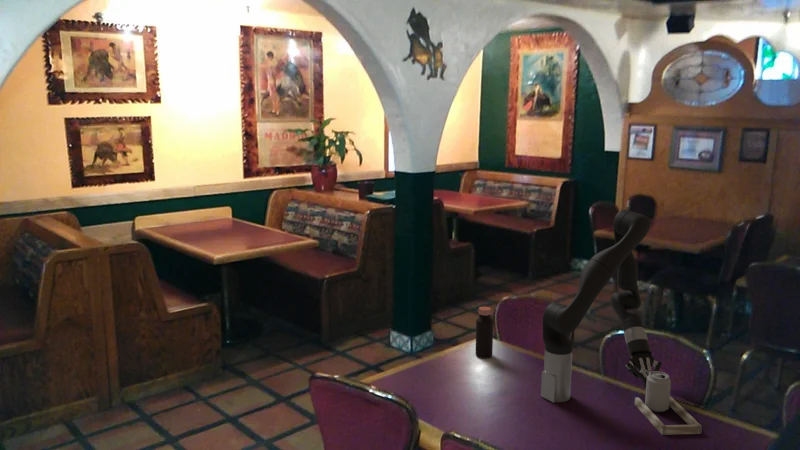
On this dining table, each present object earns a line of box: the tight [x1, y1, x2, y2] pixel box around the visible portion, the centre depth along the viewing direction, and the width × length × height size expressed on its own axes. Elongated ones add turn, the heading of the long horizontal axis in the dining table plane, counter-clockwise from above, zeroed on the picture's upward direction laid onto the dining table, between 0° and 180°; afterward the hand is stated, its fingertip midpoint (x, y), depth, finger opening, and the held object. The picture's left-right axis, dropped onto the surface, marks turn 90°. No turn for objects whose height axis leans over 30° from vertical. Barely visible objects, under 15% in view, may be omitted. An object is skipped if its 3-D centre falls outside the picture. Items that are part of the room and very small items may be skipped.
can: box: [644, 370, 672, 413], centre depth 211 cm, size 8×8×12 cm
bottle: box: [475, 306, 494, 359], centre depth 255 cm, size 7×7×20 cm
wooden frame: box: [634, 395, 703, 436], centre depth 205 cm, size 20×12×2 cm, turn 3°
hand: (649, 389), depth 217 cm, fingers closed
